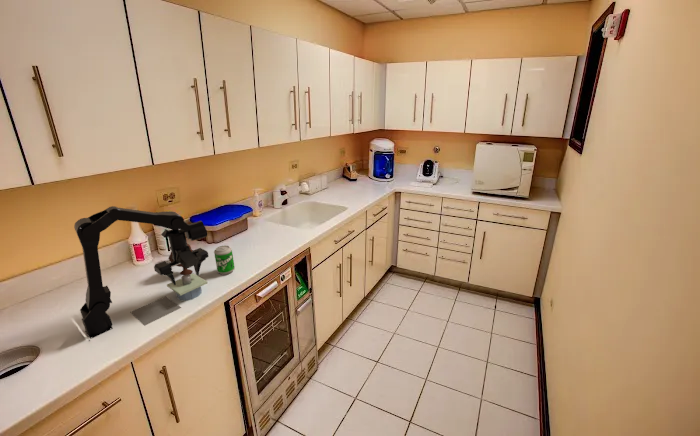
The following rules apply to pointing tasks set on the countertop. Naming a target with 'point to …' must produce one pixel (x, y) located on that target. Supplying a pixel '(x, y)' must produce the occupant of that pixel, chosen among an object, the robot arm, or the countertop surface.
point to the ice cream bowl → (185, 271)
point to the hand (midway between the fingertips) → (186, 279)
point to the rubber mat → (155, 310)
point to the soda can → (224, 260)
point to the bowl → (190, 294)
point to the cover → (187, 284)
